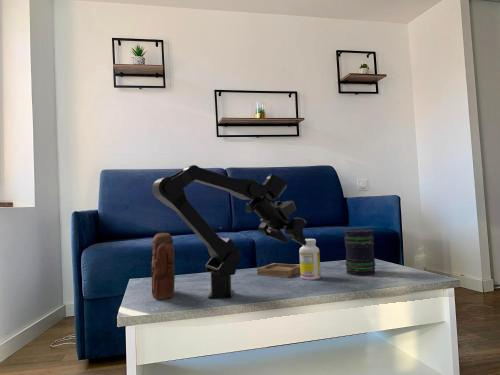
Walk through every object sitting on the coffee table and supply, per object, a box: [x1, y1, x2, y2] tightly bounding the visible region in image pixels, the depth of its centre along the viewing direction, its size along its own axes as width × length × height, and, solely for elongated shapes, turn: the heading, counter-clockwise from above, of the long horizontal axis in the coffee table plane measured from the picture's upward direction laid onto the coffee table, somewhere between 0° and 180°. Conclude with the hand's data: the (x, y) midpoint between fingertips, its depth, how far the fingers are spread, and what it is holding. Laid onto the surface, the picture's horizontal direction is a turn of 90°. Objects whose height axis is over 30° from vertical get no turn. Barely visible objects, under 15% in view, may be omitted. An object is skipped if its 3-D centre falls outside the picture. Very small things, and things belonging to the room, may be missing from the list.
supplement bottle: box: [298, 238, 322, 281], centre depth 116 cm, size 7×7×13 cm
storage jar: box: [344, 228, 376, 277], centre depth 120 cm, size 10×10×15 cm
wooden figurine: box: [151, 232, 176, 300], centre depth 101 cm, size 12×6×18 cm, turn 19°
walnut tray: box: [256, 262, 300, 279], centre depth 125 cm, size 12×12×2 cm
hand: (296, 243), depth 113 cm, fingers open, 9 cm apart
